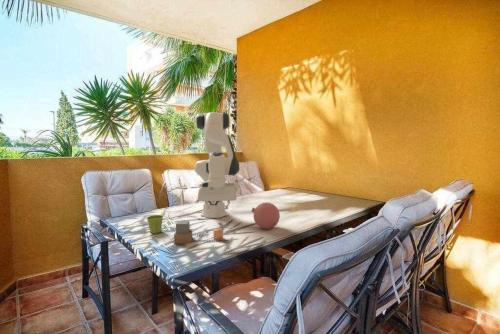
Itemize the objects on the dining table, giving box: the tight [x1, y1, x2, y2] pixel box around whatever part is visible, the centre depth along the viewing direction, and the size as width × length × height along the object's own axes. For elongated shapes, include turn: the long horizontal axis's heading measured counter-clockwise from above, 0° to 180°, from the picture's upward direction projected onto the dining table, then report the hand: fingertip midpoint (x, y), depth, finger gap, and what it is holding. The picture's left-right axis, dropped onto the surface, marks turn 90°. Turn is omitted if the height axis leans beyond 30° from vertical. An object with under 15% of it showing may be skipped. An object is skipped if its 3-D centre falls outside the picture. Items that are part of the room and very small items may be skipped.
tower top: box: [175, 220, 191, 234], centre depth 151 cm, size 6×6×5 cm
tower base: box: [173, 228, 193, 244], centre depth 152 cm, size 8×8×5 cm
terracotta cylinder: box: [212, 227, 224, 241], centre depth 154 cm, size 5×5×5 cm
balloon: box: [251, 202, 281, 230], centre depth 173 cm, size 15×20×15 cm
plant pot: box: [146, 214, 164, 234], centre depth 167 cm, size 9×9×9 cm
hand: (217, 209), depth 153 cm, fingers open, 8 cm apart
